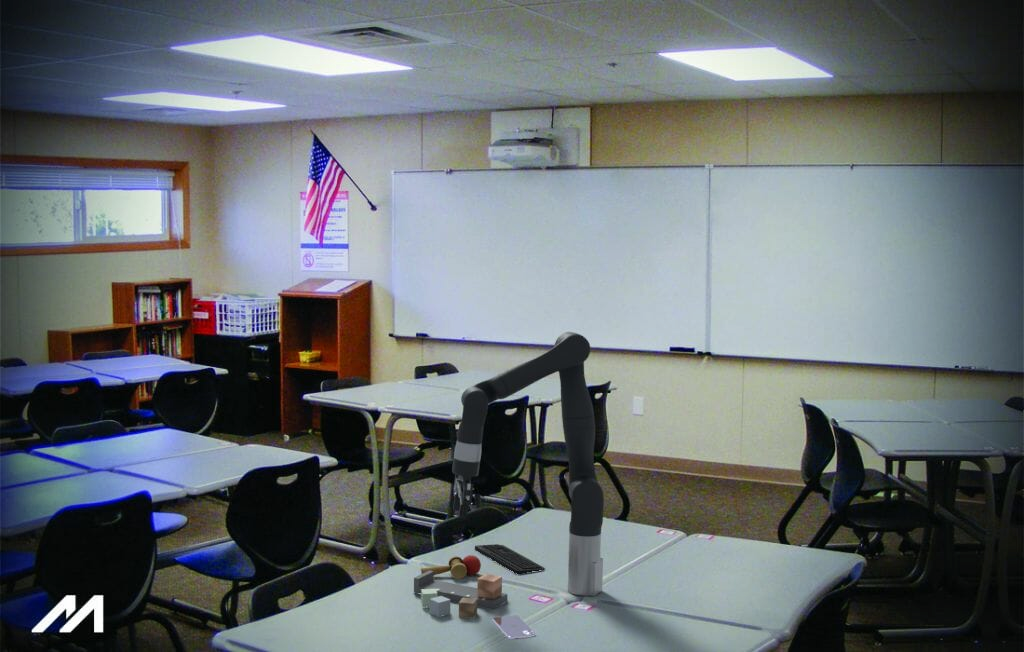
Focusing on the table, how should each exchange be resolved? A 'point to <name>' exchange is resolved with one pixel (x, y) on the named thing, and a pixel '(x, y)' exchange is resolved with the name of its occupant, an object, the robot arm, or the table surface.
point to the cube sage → (427, 596)
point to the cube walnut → (468, 607)
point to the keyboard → (508, 558)
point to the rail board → (455, 591)
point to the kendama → (458, 567)
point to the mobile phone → (513, 627)
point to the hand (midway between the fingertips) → (459, 514)
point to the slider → (489, 586)
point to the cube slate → (439, 606)
